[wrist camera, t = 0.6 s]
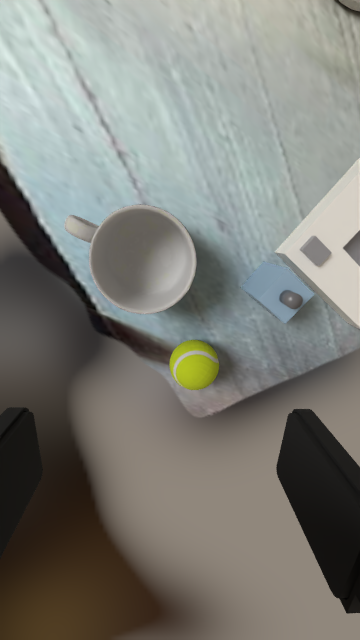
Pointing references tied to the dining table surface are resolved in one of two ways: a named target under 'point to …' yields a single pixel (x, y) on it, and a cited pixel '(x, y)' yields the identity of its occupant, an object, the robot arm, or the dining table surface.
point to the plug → (277, 290)
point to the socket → (331, 247)
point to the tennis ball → (194, 364)
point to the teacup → (139, 257)
